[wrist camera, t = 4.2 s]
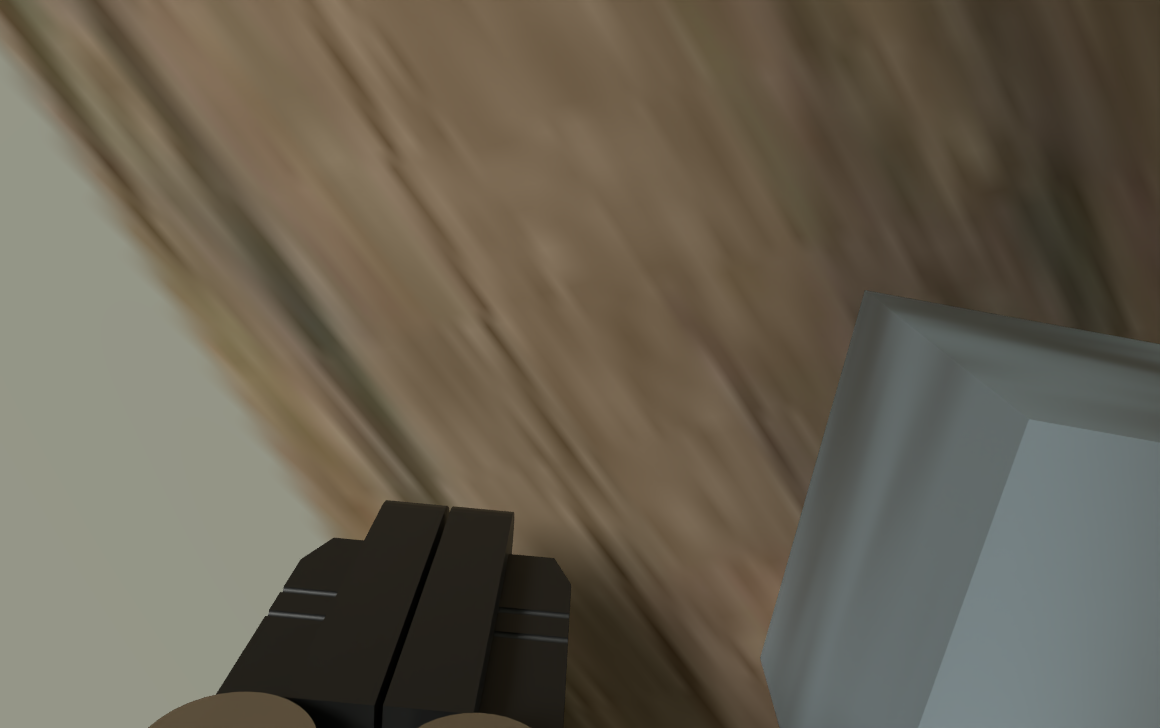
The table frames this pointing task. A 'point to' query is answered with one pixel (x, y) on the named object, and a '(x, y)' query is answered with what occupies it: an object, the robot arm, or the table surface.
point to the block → (977, 531)
